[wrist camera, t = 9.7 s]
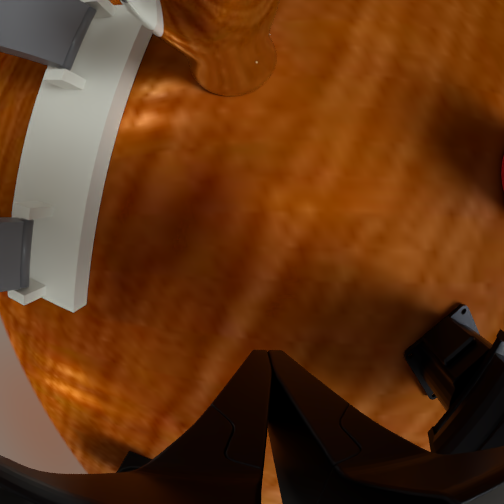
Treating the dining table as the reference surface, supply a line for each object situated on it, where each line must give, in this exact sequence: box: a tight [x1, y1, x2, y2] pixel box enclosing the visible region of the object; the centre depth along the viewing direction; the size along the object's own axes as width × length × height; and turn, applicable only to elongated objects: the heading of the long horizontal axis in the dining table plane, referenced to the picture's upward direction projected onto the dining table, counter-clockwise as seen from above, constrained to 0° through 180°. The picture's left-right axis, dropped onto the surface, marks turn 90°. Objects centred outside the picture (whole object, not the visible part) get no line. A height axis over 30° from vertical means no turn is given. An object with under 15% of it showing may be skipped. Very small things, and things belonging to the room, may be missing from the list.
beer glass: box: [120, 0, 280, 96], centre depth 12 cm, size 7×7×15 cm
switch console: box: [8, 0, 152, 313], centre depth 18 cm, size 8×24×5 cm, turn 165°
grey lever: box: [0, 0, 97, 71], centre depth 11 cm, size 2×5×11 cm, turn 164°
